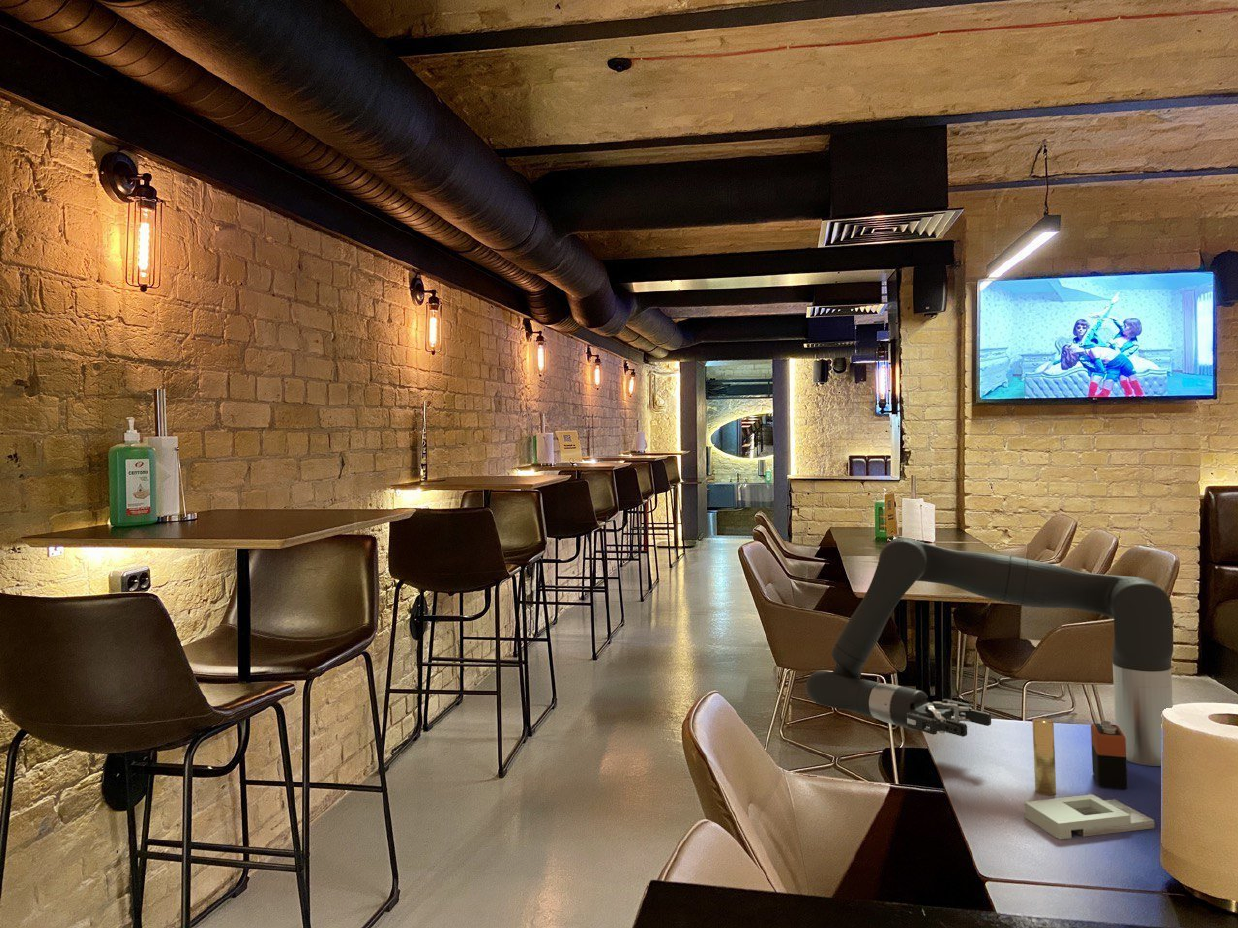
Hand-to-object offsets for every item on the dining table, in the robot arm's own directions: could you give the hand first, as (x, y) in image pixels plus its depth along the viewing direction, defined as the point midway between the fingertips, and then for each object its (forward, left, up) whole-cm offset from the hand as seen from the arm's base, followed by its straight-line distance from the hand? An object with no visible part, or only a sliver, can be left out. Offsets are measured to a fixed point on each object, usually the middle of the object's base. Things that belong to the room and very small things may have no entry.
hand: (978, 725), depth 148 cm
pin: (-6, +10, -9) cm, 14 cm away
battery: (-19, +9, -9) cm, 23 cm away
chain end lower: (-6, +22, -9) cm, 24 cm away
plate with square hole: (-2, +22, -9) cm, 24 cm away
